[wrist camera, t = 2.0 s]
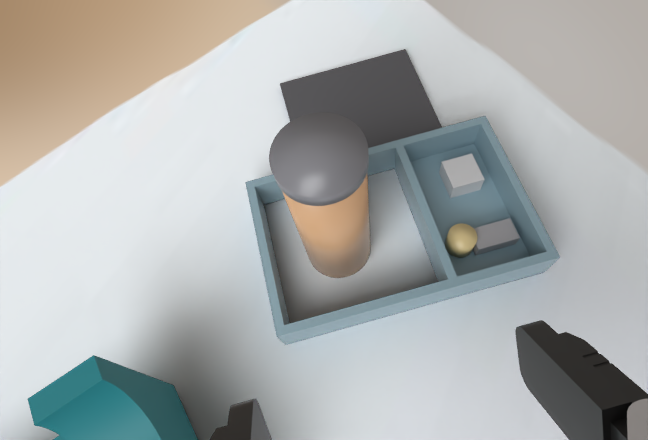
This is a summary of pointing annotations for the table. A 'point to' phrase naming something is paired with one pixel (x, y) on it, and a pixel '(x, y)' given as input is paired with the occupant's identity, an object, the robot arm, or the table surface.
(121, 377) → the teal notched block
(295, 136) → the brown canister
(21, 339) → the table surface
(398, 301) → the parts tub
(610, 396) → the robot arm
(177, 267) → the table surface
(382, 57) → the black mat
